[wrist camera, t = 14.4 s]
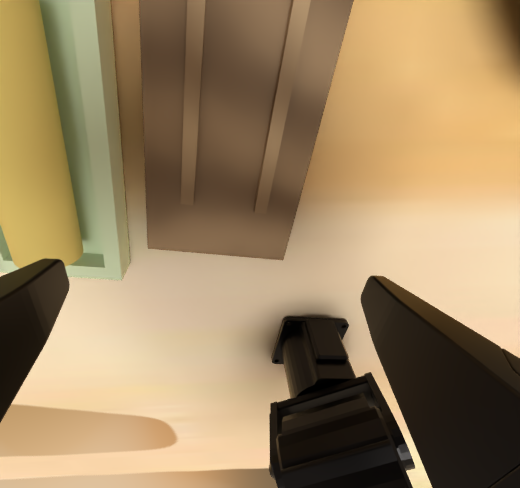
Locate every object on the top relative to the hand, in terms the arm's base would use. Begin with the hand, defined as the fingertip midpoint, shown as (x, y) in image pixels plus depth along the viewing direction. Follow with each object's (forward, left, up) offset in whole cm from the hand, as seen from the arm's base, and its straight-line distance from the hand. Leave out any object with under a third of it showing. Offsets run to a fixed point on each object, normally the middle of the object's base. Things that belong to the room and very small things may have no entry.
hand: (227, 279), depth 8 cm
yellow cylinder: (0, +10, -11) cm, 15 cm away
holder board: (+4, 0, -12) cm, 12 cm away
